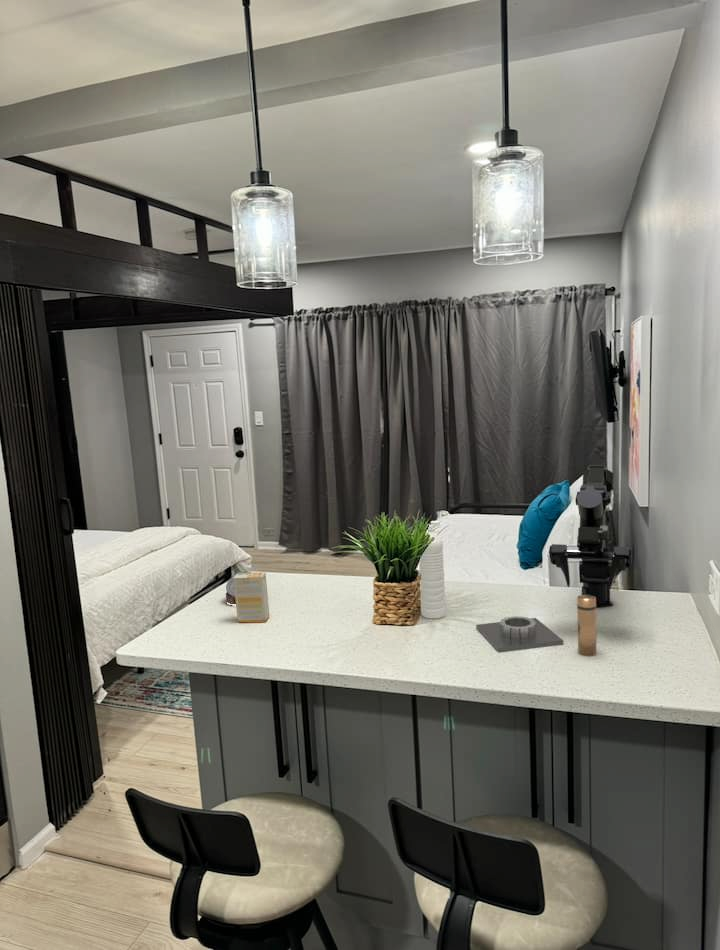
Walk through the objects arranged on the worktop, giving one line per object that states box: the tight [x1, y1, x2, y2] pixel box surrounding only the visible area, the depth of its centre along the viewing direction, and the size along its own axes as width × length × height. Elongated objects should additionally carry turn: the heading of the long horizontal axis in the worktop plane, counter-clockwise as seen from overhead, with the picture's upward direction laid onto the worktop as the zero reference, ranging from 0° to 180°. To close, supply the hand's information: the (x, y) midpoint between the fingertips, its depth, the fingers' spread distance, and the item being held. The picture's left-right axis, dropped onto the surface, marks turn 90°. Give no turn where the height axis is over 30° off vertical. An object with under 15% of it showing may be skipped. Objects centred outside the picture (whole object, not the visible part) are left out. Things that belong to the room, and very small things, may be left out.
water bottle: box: [418, 520, 447, 620], centre depth 189 cm, size 9×6×25 cm
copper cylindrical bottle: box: [576, 594, 597, 657], centre depth 158 cm, size 4×4×13 cm
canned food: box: [225, 570, 253, 604], centre depth 211 cm, size 11×10×10 cm
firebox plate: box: [475, 615, 564, 653], centre depth 171 cm, size 16×16×4 cm
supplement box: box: [233, 571, 270, 623], centre depth 193 cm, size 8×5×13 cm, turn 84°
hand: (588, 587), depth 164 cm, fingers open, 9 cm apart
